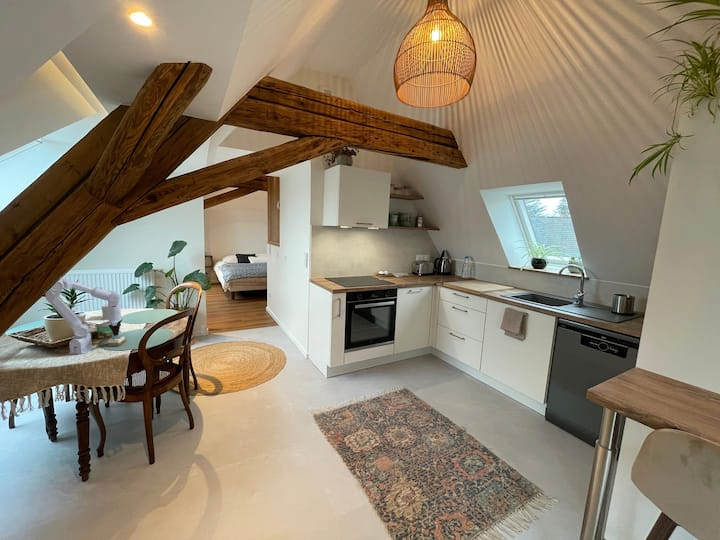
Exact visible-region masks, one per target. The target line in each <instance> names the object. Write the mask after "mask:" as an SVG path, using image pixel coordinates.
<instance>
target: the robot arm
mask: <svg viewBox="0 0 720 540" xmlns="http://www.w3.org/2000/svg"><path fill="white" fill-rule="evenodd" d="M60 278H61V279H60V280H59V281H58V282H57V283H56V284H55V285H54V286H53V287H52V288H51V289H50V290H49V291H48V292H47V293H46V292H45V300H46V301H47V302H48V303H49V304H50V305H51V306H52V307H53V308H54V309H55V311H56V312H57V313H58V314H59V315H60V316H61V317H62V318H63V319H64V320H65V322H67V323H68V325H69V326H70V328H71V329H72V332H73V338H72V339H71V340H70V341H69V345H68V346H69V352H68V355H74V354H75V355H76V354H79V355H81V354H82V355H83V354H86V353H88V352H90V351H92V350H93V349H96V348H97V346H95V345H94V346H93V343H92V333H91V332H90V324H89V323H88V322H86V321H83V320H82V319H81V318H80V317H79V316H78V315H77V314H76V313H75V312H74V310H72V309H71V308H70V306H69V305H68V304H67V303H66V302H65V300H63V299H62V298H61V296H60V295H61V292H62V291H63V290H65V291H66V290H76V291H80V292H84V293H88V294H90V296H91V297H93V298H95V299H96V298H97V299H99V300H104V301H107V304H108V312H109V320H108V321H109V322H111V325H109V327H110V328H111V330H112V332H113V335H114V336H117V335H118V334H119V331H120V328H121V326H122V321H123V320H124V319H125V318H124V317H122V313H121V303H120V300H121V298H120V294H119V292H116V291H113V290H107V289H104V288H103V287H102V286H100V287H91V286H88V285H85V284H83V283H79V282H77V281H74V280H71V279H69V278H65V279H64V278H63V277H60Z"/></svg>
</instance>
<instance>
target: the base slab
mask: <svg viewBox="0 0 720 540" xmlns="http://www.w3.org/2000/svg"><path fill="white" fill-rule="evenodd" d="M127 340H128V339H127V338H125V340H123V341H121V342H119V343H109V342H107V347H121V346H122V344H123V345H125V344H126V343H128V342H127ZM124 343H125V344H124Z"/></svg>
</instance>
